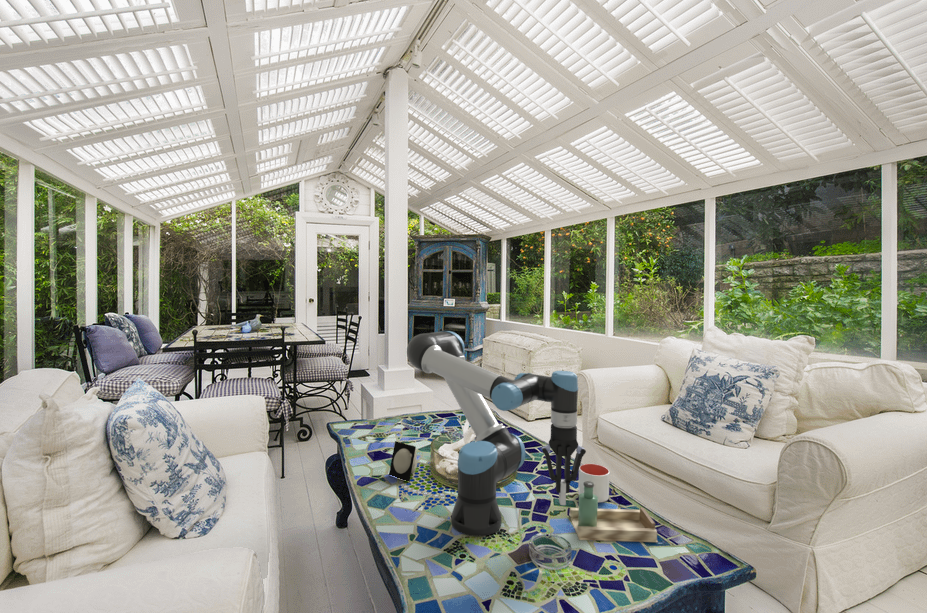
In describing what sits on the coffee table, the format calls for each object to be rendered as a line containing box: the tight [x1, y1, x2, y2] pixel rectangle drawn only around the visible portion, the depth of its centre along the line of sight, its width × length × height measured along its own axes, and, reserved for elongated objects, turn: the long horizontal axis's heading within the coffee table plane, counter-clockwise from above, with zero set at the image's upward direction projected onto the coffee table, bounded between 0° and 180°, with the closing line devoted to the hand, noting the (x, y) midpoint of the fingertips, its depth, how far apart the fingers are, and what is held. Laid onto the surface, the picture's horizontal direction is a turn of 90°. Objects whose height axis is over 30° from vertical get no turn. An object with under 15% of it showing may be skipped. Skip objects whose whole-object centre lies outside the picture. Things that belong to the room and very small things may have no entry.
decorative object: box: [388, 440, 418, 483], centre depth 168 cm, size 13×10×10 cm
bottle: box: [578, 481, 599, 527], centre depth 133 cm, size 5×5×13 cm
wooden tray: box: [568, 507, 659, 543], centre depth 133 cm, size 22×14×5 cm, turn 89°
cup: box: [577, 463, 611, 503], centre depth 153 cm, size 10×10×10 cm
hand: (562, 502), depth 133 cm, fingers closed
